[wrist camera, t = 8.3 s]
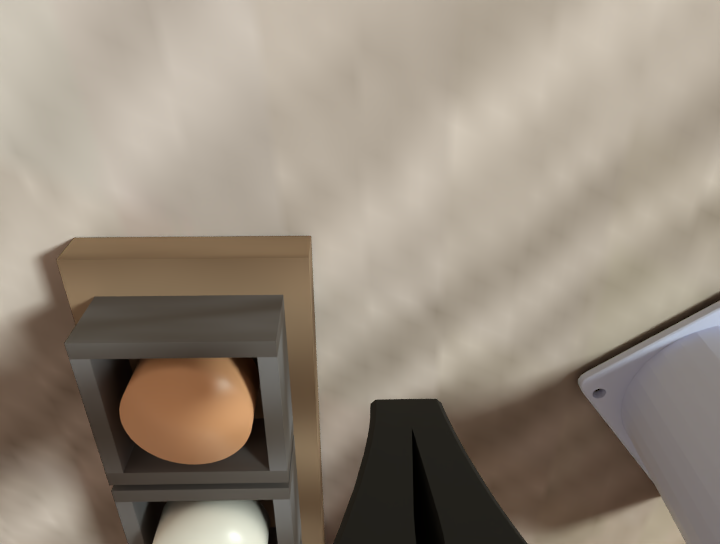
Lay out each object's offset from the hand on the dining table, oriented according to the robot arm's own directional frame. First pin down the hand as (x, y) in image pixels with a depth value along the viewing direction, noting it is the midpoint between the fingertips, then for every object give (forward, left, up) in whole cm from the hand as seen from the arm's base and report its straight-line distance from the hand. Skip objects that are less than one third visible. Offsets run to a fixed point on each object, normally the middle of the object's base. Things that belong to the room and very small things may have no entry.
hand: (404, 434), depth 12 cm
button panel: (-5, +12, -9) cm, 16 cm away
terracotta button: (0, +8, -7) cm, 11 cm away
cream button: (-5, +12, -6) cm, 14 cm away
